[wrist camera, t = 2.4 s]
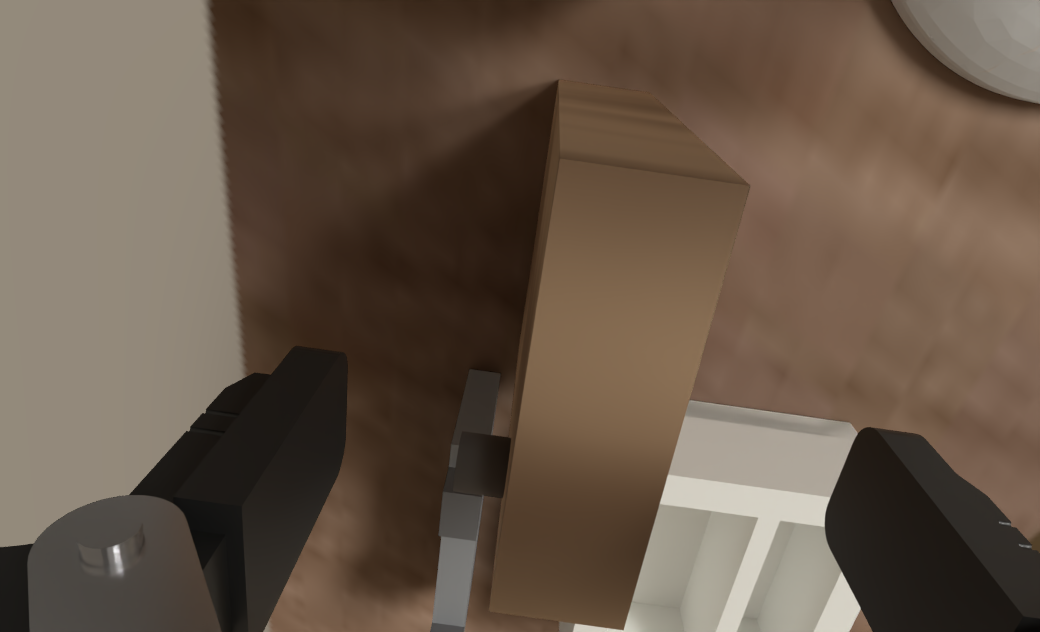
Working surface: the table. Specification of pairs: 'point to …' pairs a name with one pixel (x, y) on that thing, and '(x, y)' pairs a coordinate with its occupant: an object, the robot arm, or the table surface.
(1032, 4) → the candlestick
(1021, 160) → the table surface
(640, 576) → the cabinet
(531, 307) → the door
